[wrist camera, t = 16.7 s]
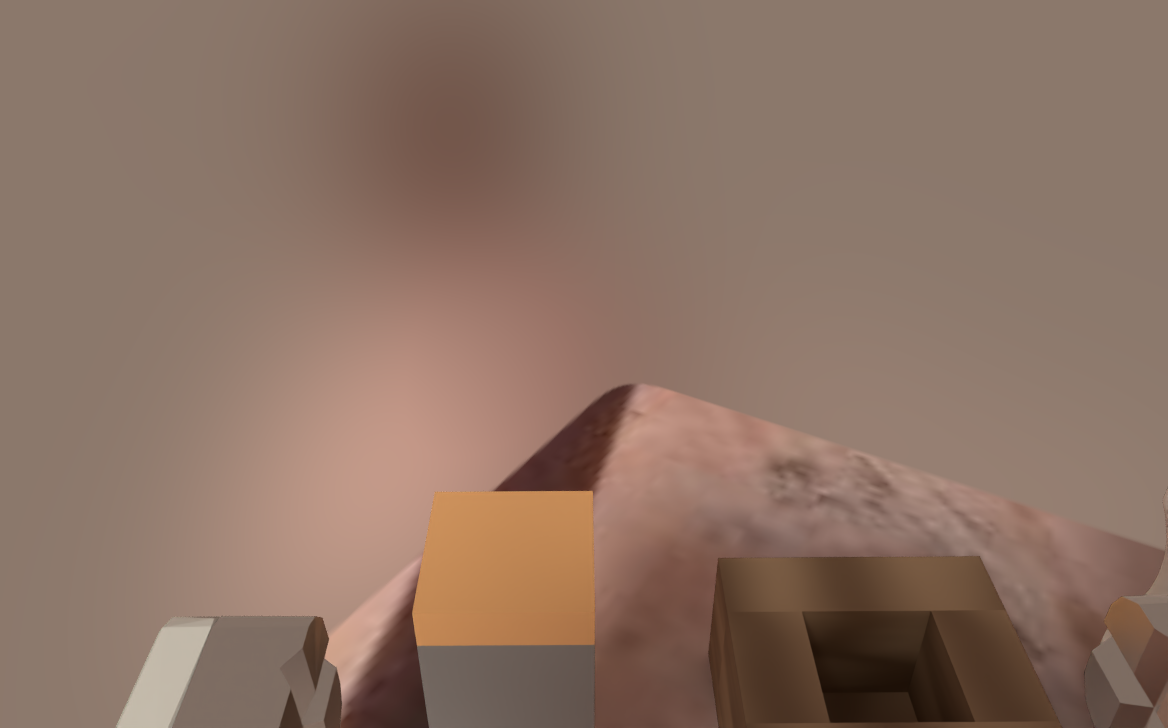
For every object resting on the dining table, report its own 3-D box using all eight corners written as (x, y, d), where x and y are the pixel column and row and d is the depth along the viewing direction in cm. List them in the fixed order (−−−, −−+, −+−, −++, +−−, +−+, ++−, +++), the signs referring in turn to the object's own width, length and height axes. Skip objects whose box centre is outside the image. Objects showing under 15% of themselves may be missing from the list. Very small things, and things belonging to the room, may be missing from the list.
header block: (950, 651, 44) (979, 556, 41) (1048, 896, 35) (1096, 799, 31) (708, 653, 44) (718, 558, 41) (742, 898, 35) (759, 801, 31)
